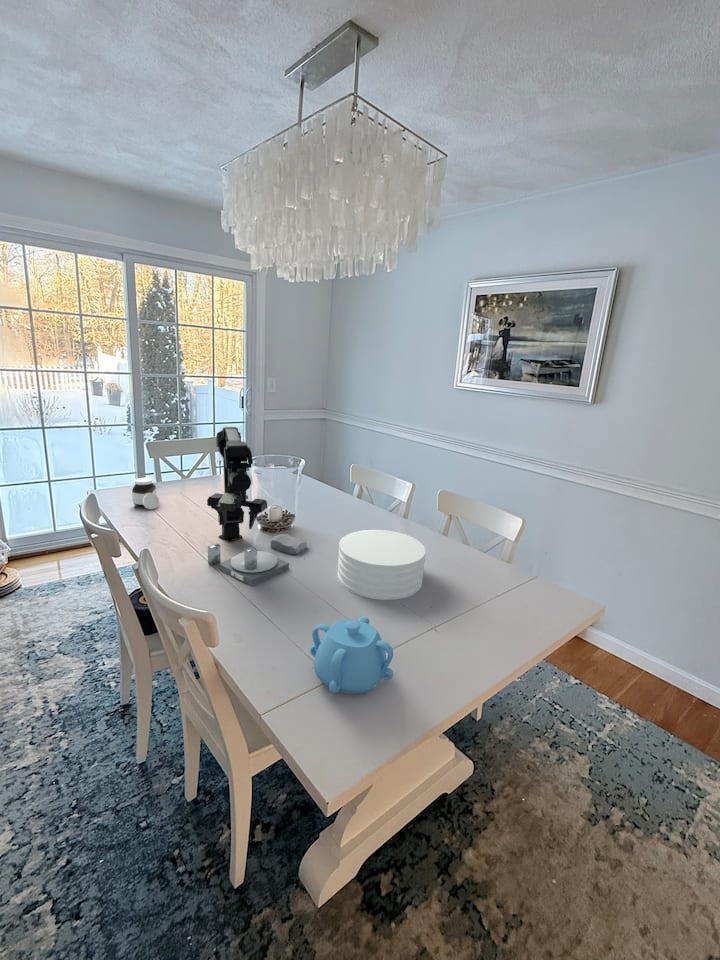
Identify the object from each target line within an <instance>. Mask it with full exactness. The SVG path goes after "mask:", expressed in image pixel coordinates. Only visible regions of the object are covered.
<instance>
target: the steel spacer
mask: <svg viewBox="0 0 720 960" xmlns="http://www.w3.org/2000/svg"><path fill="white" fill-rule="evenodd" d="M219 563H222V561H221V544H219V543H211V544H208V545H207V564H208V565H209V566H217V565H218V566H219Z"/></svg>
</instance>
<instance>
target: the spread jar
mask: <svg viewBox="0 0 720 960" xmlns="http://www.w3.org/2000/svg"><path fill="white" fill-rule="evenodd" d="M134 483H135V484H134V486H133V487H132V490H131V497H132V503H133V504H134V506H136V507H137V508H146V509H147V510H154V509H156V508H158V506H159V504H160V499H159V497H158V495H157V493H158V492H157V487H156V485H155V483H154V482H153V478H150V477H140V478H136V479H135V480H134Z"/></svg>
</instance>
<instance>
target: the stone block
mask: <svg viewBox="0 0 720 960" xmlns="http://www.w3.org/2000/svg"><path fill="white" fill-rule="evenodd" d="M269 544H270V546H269V547H270V548H271V549H274V550H276V551H280V552H283V553H287V554H289V555H294V556H295V555H298V554H300V552H302V551H304V550H306V548H307V540H306V539H302V538H301V537H299V538H296V537H293V536H291V535H289V534H286V533H281V534H278V535H275V536H273V537H272V538H271V540H270V543H269Z"/></svg>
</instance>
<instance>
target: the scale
mask: <svg viewBox="0 0 720 960" xmlns="http://www.w3.org/2000/svg"><path fill="white" fill-rule="evenodd" d="M256 549H257V569H255V570H246V569H245V568H244V551H243V552H240V553H238V554H236V555H233V557H232V558H230V559H227V560H225V561H221V563H219V564H218V570H220V571H222V572H223V573H226V574H227V575H229V576H231V577H233V578H235V579H237V580H239V581H240V582H243V583H245V584H247V585H249V586H254V585H258V584H259V583H260V582H263V581H266V580H267V579H269V578H271V577H273V576H276V575H278V574H280V573H283V572H284V571H286V570H288V569H290V562H287V561H286V560H283V559H280V558H279V557H277V556H276V555H275V554H273V553H271V552H268V551H263V550H260V549H258V548H256Z"/></svg>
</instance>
